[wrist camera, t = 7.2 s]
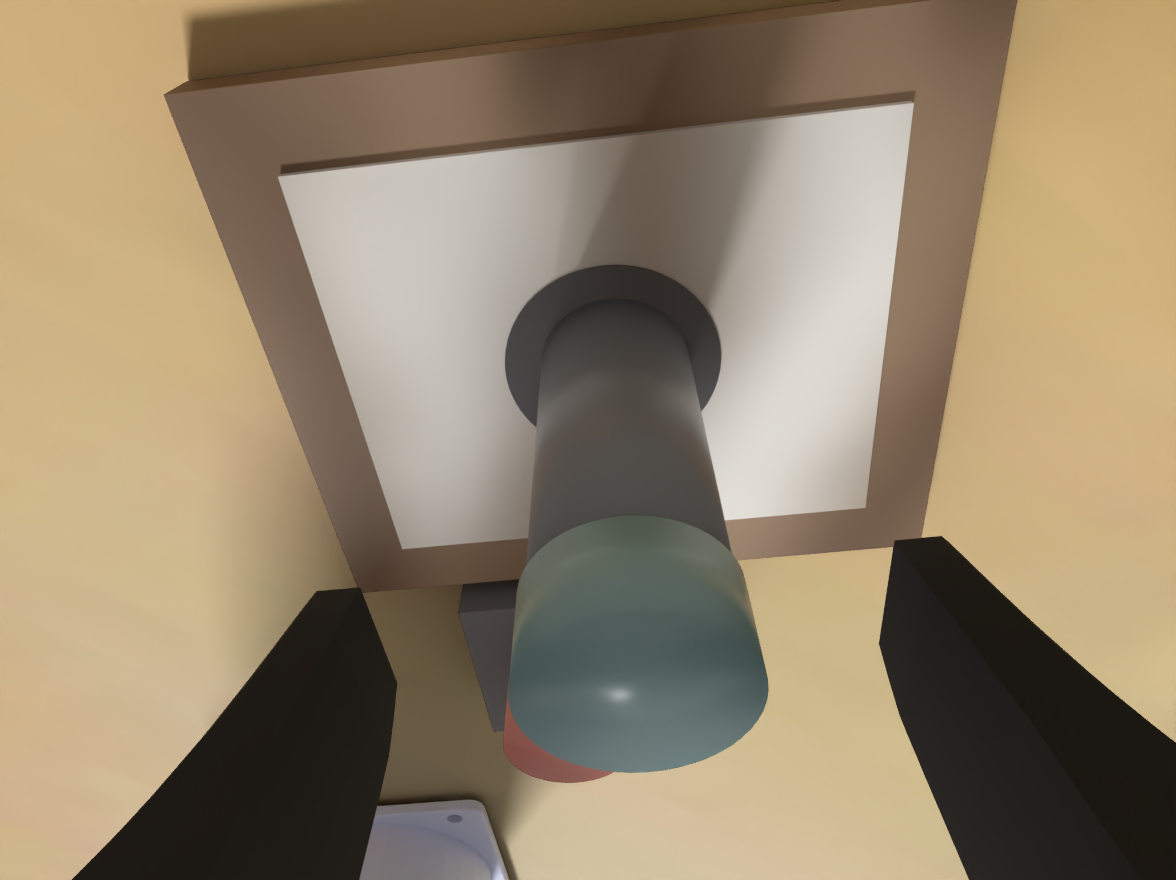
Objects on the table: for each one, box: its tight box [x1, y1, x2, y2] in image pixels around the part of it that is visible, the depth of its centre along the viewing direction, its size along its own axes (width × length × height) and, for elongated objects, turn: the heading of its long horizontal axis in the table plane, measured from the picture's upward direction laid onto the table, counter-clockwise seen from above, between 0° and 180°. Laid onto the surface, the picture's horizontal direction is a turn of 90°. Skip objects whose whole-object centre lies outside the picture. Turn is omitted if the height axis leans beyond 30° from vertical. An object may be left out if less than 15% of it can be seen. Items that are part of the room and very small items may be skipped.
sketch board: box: [164, 0, 1017, 593], centre depth 17 cm, size 14×12×1 cm
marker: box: [508, 299, 769, 773], centre depth 13 cm, size 3×3×8 cm
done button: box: [503, 683, 613, 783], centre depth 20 cm, size 3×3×2 cm
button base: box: [458, 579, 520, 732], centre depth 22 cm, size 5×5×2 cm
